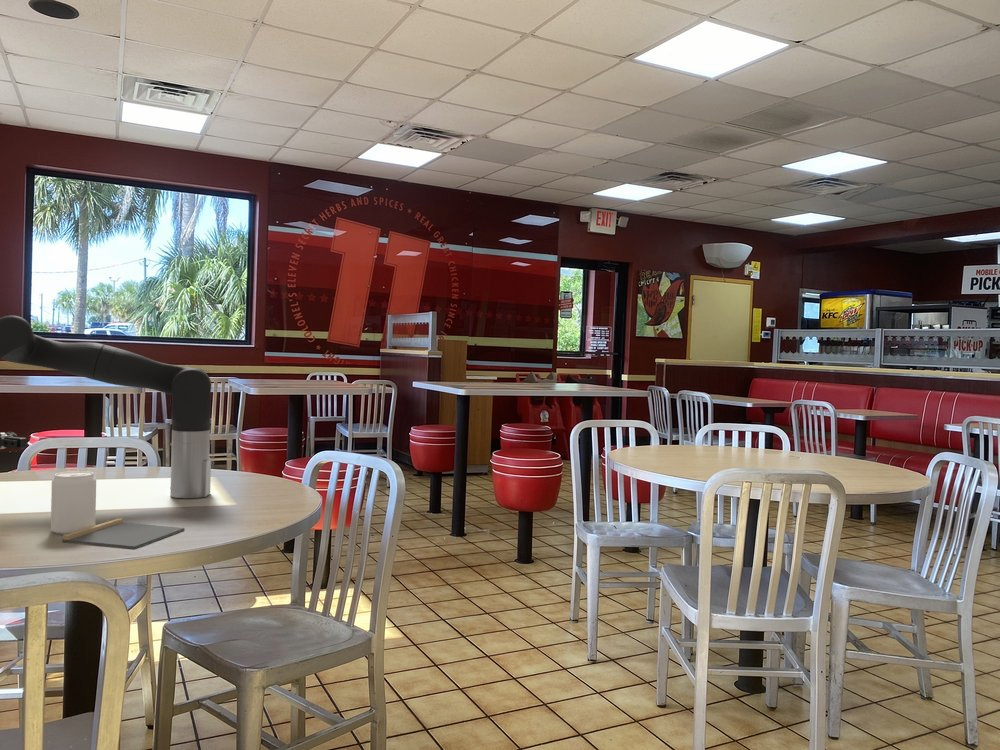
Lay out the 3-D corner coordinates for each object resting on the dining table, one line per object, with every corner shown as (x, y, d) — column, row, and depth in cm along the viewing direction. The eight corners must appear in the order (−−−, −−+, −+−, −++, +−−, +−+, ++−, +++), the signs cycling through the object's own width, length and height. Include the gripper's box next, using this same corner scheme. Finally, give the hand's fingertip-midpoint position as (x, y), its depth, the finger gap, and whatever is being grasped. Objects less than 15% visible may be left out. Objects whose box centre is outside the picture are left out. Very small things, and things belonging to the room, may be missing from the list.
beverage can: (62, 526, 163) (63, 470, 162) (102, 526, 163) (103, 471, 163) (42, 535, 155) (43, 476, 154) (84, 536, 155) (85, 477, 155)
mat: (62, 541, 150) (62, 535, 150) (118, 524, 166) (118, 518, 166) (134, 548, 147) (134, 542, 147) (184, 530, 163) (184, 524, 163)
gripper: (-74, 422, 157) (-2, 428, 154) (-19, 418, 170) (49, 423, 167) (-75, 458, 158) (-4, 465, 154) (-20, 451, 171) (47, 457, 167)
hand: (23, 443), depth 161 cm, fingers closed
